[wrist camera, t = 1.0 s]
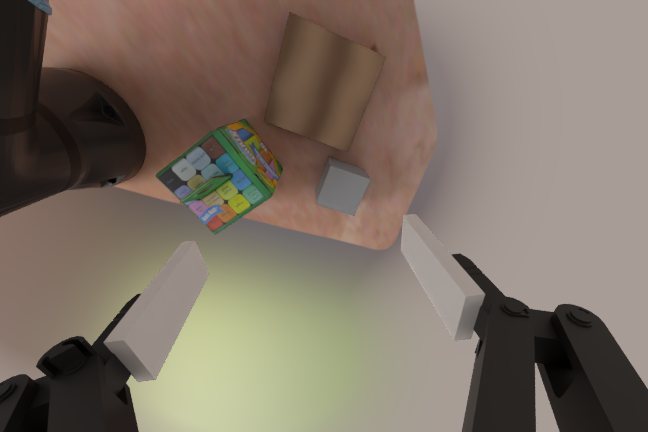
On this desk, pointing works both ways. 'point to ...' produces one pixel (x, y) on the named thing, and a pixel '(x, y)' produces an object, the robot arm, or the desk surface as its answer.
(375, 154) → the desk surface
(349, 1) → the desk surface
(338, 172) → the grey block
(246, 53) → the desk surface
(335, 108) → the block
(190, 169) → the chalk box
